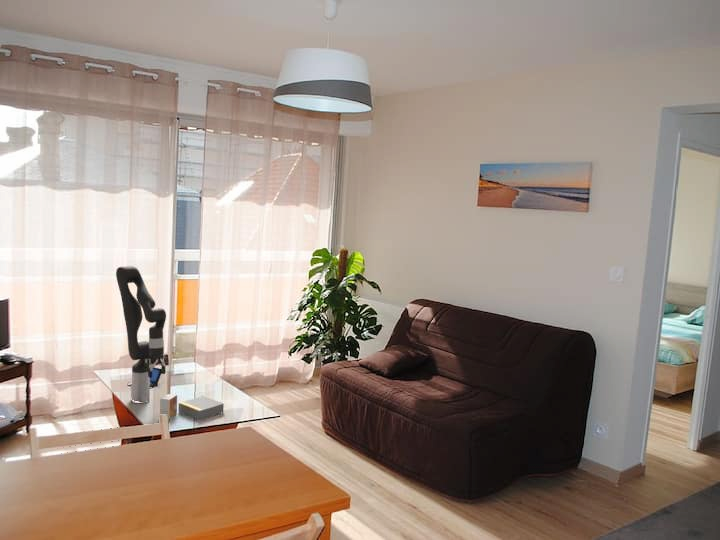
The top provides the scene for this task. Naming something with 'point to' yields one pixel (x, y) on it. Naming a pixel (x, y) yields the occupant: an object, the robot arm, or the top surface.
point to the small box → (168, 405)
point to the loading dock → (200, 407)
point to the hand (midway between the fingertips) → (156, 375)
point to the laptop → (155, 377)
